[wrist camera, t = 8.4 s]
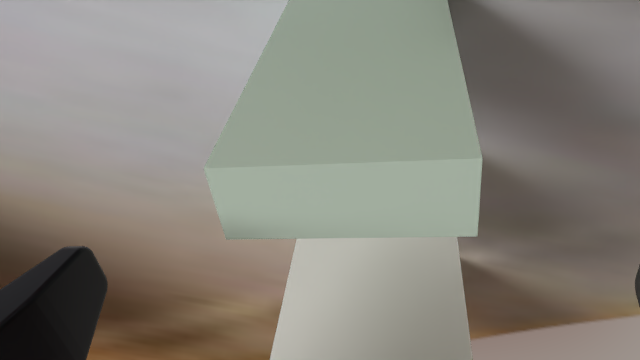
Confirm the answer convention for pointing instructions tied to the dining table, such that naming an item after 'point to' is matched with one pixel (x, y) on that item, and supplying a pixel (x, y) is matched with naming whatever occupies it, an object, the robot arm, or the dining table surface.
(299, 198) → the domino
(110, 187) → the dining table surface
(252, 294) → the dining table surface
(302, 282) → the domino
